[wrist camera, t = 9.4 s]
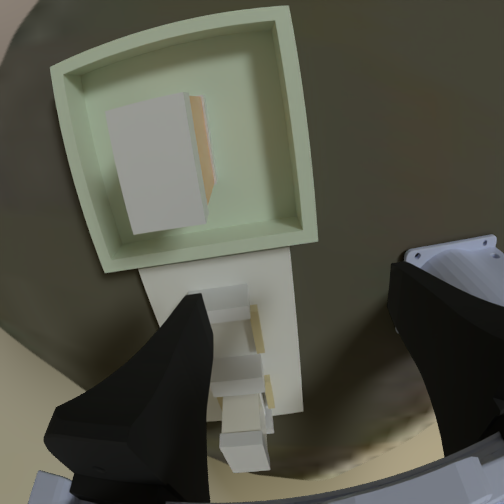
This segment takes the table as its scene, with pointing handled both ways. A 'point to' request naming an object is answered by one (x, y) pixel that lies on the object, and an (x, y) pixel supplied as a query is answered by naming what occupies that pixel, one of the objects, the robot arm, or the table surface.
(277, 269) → the fuse block
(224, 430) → the block
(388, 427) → the table surface
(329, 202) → the table surface
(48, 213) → the table surface
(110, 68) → the tray
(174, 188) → the block
